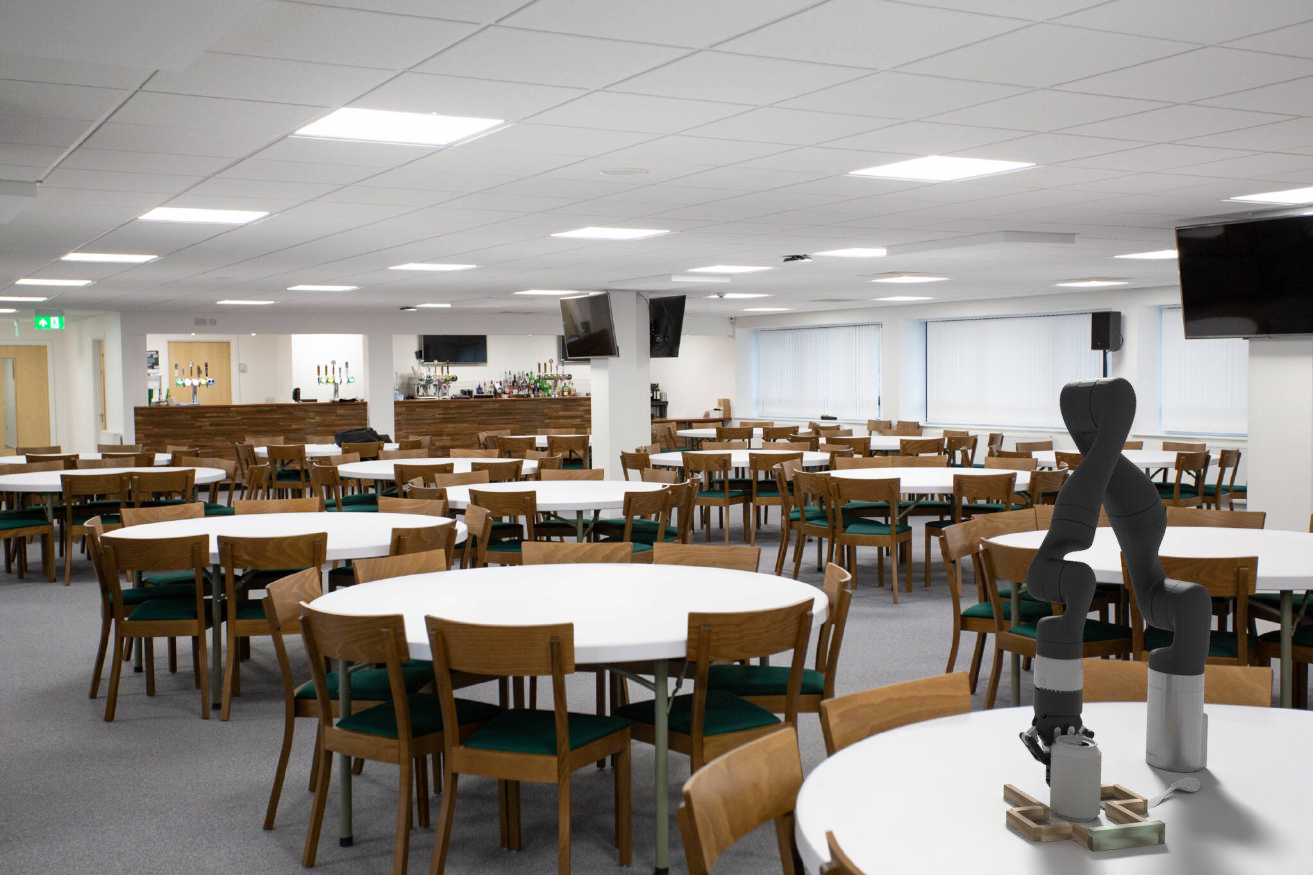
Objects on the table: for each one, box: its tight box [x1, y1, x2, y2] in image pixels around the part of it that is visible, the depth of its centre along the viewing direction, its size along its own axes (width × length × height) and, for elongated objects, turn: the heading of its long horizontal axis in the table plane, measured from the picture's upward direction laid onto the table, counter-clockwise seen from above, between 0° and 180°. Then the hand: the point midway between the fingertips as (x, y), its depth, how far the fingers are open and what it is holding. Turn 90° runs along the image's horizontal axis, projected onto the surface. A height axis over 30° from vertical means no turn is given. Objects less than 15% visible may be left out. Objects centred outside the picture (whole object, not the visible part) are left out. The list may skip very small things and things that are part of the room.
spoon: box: [1148, 777, 1201, 810], centre depth 185 cm, size 4×21×2 cm, turn 129°
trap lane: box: [1003, 783, 1166, 852], centre depth 175 cm, size 25×23×3 cm
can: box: [1049, 735, 1102, 823], centre depth 176 cm, size 8×8×12 cm
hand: (1055, 788), depth 181 cm, fingers closed
